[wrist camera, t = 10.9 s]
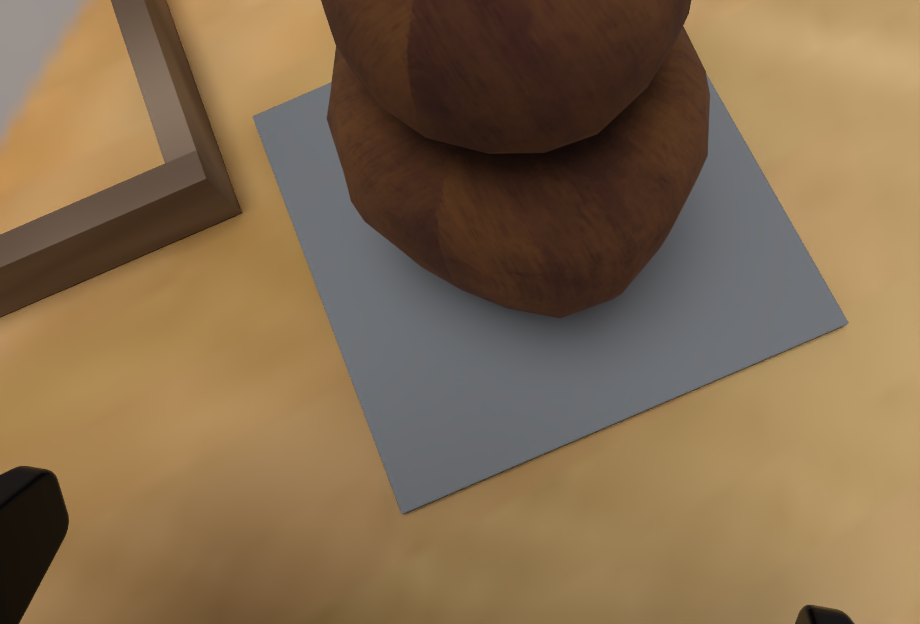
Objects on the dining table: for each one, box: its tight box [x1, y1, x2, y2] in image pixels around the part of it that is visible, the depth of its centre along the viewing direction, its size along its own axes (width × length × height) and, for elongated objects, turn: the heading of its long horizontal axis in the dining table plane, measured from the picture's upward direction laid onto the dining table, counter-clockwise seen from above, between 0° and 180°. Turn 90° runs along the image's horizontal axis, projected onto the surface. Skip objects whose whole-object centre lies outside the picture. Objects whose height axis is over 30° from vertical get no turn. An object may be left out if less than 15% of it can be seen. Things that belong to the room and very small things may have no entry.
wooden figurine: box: [321, 0, 710, 318], centre depth 12 cm, size 7×6×15 cm
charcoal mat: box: [253, 74, 848, 514], centre depth 20 cm, size 11×11×1 cm
